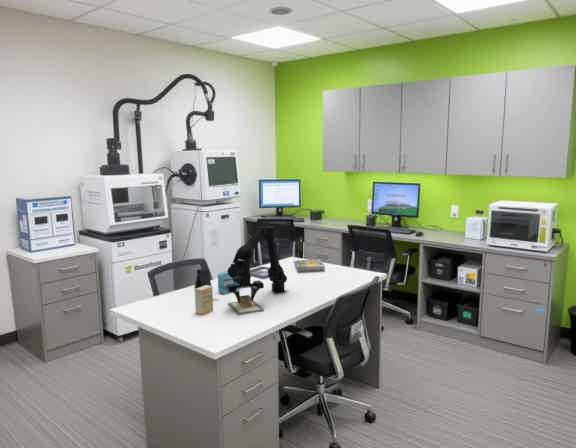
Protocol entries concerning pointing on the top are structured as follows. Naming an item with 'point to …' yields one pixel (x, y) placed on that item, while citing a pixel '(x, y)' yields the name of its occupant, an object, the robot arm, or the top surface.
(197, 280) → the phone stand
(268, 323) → the top surface
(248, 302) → the walnut cube
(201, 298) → the supplement box
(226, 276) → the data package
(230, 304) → the slate pad
